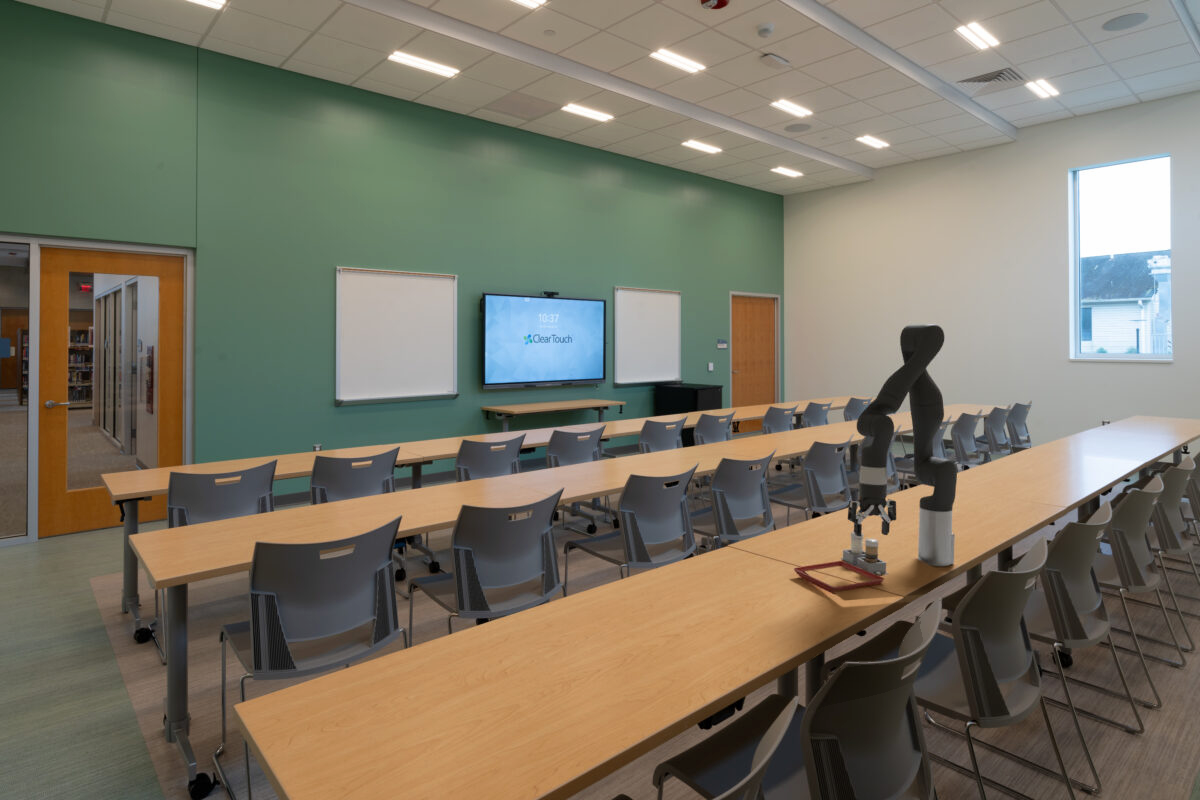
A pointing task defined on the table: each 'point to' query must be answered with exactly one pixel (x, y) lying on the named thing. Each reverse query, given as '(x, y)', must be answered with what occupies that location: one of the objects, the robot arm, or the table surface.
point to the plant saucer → (805, 576)
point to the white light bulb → (856, 544)
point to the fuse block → (864, 563)
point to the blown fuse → (871, 551)
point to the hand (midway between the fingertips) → (871, 535)
